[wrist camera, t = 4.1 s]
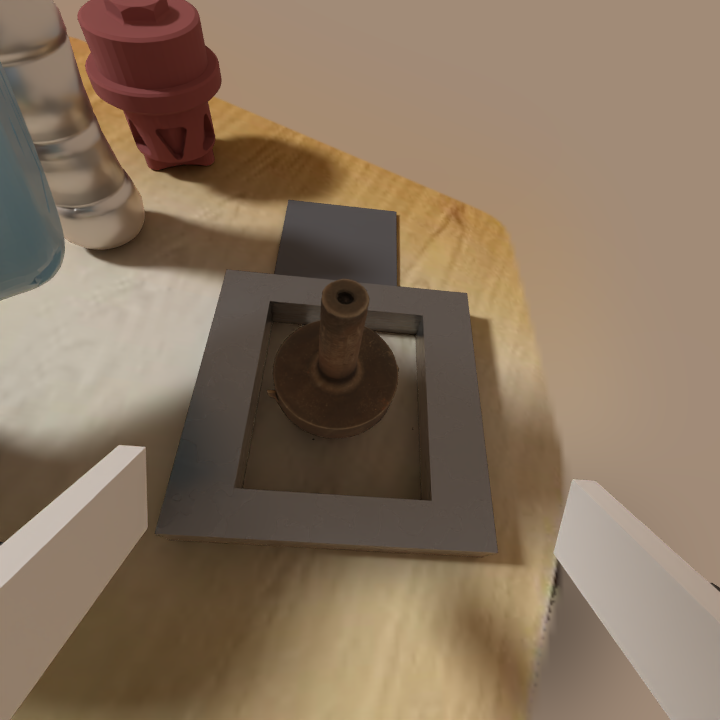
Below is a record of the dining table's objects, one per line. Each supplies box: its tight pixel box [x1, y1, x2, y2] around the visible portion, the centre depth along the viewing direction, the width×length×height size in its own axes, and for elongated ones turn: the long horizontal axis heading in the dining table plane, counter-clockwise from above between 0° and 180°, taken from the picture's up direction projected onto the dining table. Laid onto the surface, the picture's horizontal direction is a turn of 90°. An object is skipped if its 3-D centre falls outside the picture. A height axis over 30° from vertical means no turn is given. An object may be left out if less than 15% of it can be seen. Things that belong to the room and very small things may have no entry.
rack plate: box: [155, 270, 498, 557], centre depth 27 cm, size 18×18×2 cm
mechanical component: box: [78, 0, 221, 170], centre depth 35 cm, size 12×10×10 cm
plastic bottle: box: [0, 0, 145, 250], centre depth 26 cm, size 6×7×20 cm
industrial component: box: [267, 279, 413, 440], centre depth 23 cm, size 9×7×12 cm
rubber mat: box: [274, 200, 397, 286], centre depth 36 cm, size 10×10×1 cm
